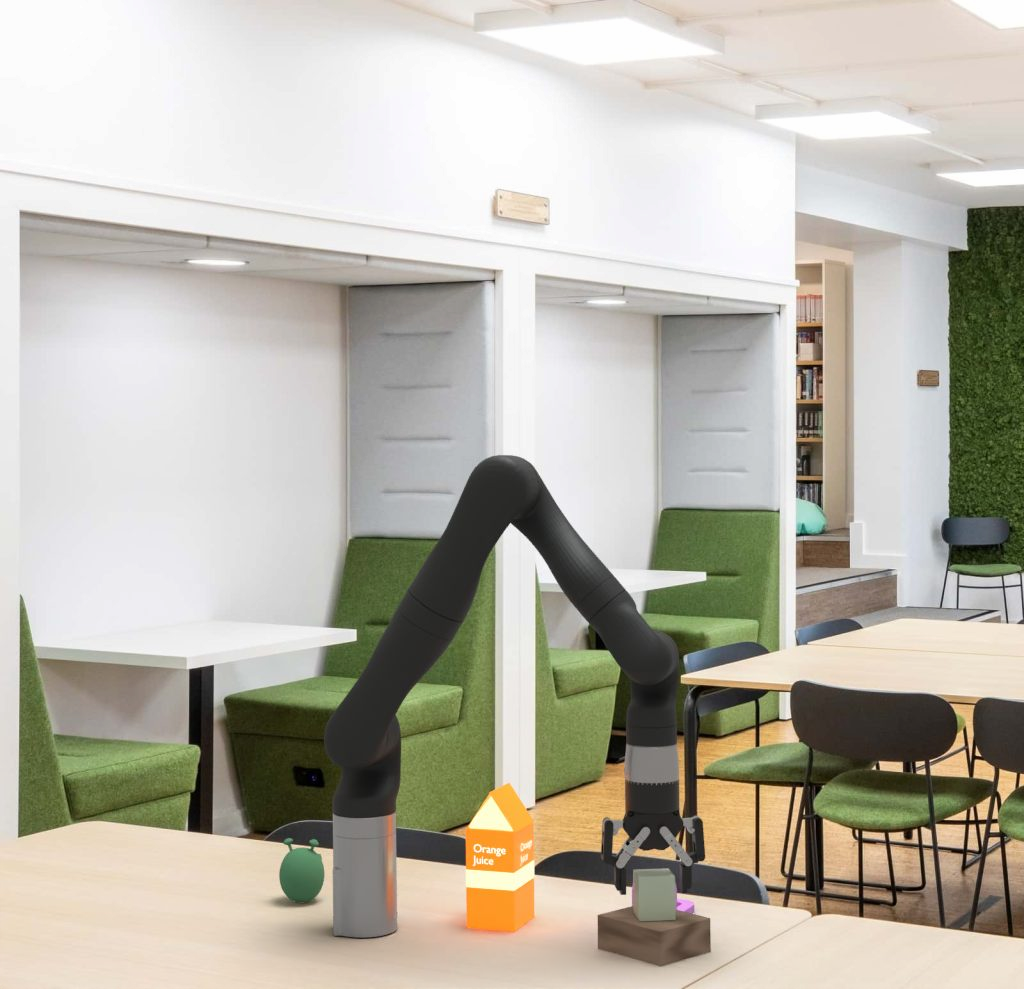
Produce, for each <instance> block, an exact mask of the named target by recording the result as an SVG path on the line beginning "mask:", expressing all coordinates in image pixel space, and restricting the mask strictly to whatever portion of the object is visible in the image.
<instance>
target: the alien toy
mask: <svg viewBox="0 0 1024 989" xmlns="http://www.w3.org/2000/svg"><path fill="white" fill-rule="evenodd" d="M293 842H294V839H293V838H290V837H288V838H285V839H284V841H283V842H282V843H283V845H284V846H285V845H286V846H288V850H289V851H288V852H287V853H286V854H285V855H284V858H283V859H282V861H281V863H280V867H279V873H278V874H279V875H278V877H279V878H278V879H279V885H280V887H281V889H282V893H284V895H285V896H286V897H287V899H289V900H291V901H292V902H294V901H295V902H294V903H298V902H305V903H308V901H309V902H312V900H315V898H317V897H318V895H319V894H320V893H321V891H322V888H323V885H324V881H325V867H324V862H323V858H322V854H321V853H318V852H316V851H315V850H314V848H315V847H318V846H319V845H320V844H319V841H318V840H317V839H314V838H313V839H310V840H309V844H310V845H311V846H310V848H308V847H296V848H293V847H292V843H293Z"/></svg>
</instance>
